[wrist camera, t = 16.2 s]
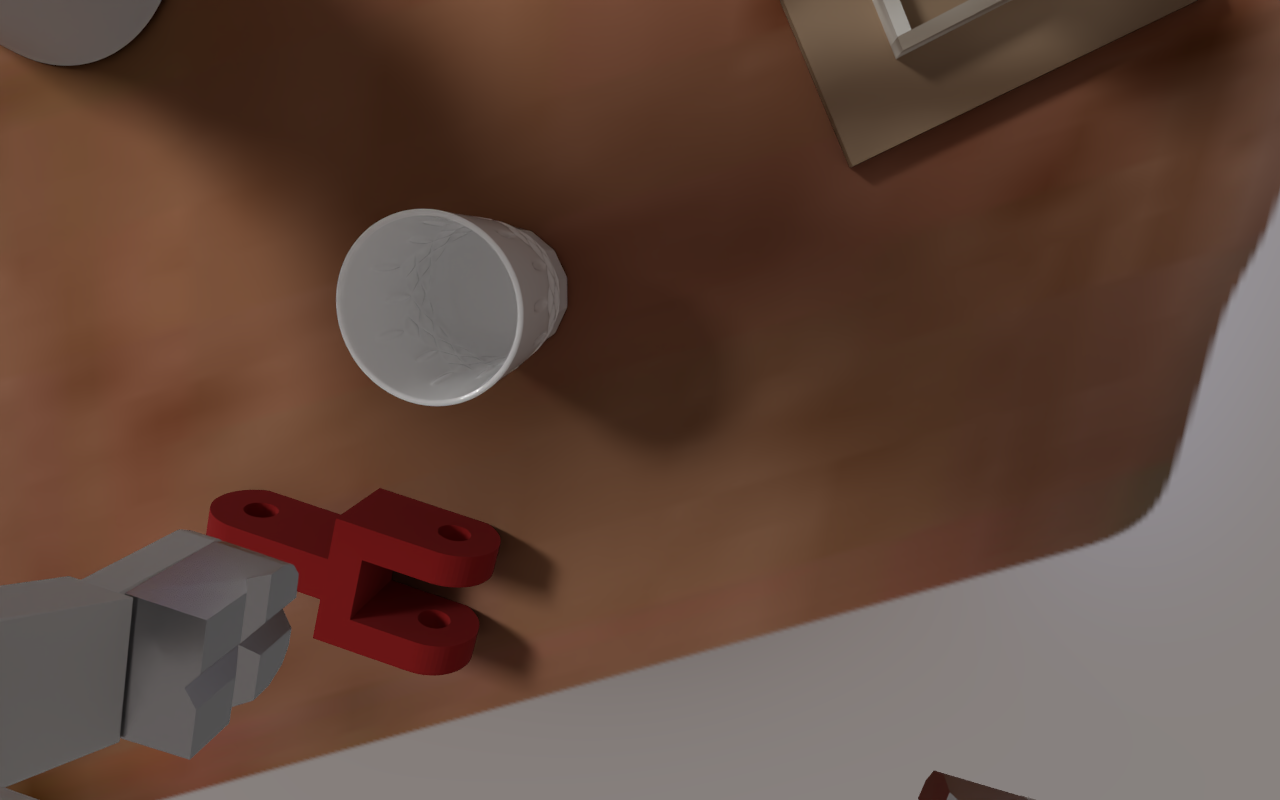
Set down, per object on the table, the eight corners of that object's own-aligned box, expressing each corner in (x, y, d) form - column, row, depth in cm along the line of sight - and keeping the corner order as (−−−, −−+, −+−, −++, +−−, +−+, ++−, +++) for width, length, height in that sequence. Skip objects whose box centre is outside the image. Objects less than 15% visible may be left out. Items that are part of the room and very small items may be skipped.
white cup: (469, 186, 40) (375, 173, 30) (605, 256, 40) (555, 266, 30) (413, 322, 42) (309, 351, 32) (542, 390, 42) (476, 439, 32)
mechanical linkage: (512, 529, 44) (482, 567, 39) (484, 638, 46) (452, 686, 41) (254, 444, 45) (194, 471, 40) (237, 553, 47) (177, 590, 42)
